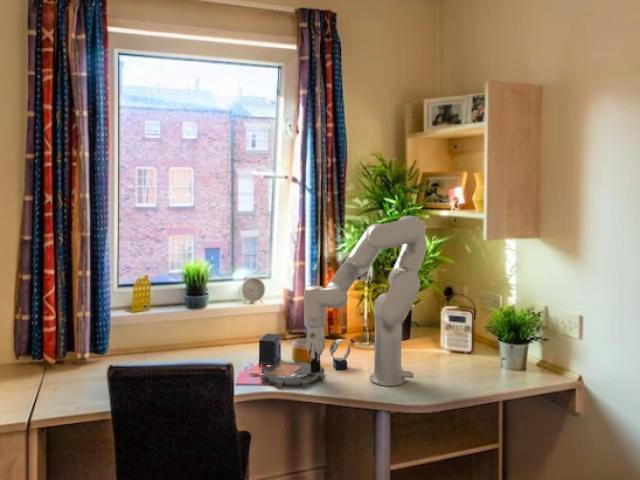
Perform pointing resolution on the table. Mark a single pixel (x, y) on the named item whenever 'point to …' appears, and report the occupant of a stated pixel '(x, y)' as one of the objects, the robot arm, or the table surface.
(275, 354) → the small box
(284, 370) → the sprocket
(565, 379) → the table surface
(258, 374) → the stand
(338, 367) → the watch
